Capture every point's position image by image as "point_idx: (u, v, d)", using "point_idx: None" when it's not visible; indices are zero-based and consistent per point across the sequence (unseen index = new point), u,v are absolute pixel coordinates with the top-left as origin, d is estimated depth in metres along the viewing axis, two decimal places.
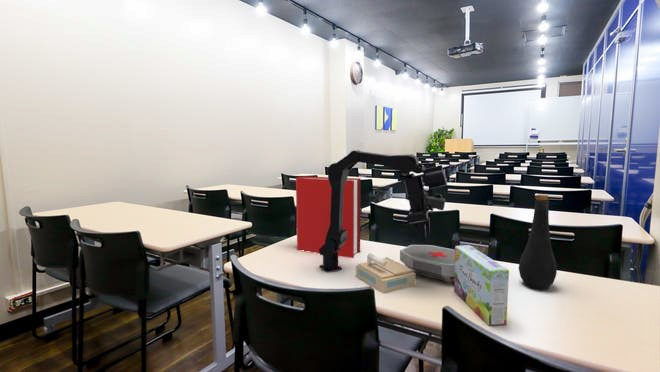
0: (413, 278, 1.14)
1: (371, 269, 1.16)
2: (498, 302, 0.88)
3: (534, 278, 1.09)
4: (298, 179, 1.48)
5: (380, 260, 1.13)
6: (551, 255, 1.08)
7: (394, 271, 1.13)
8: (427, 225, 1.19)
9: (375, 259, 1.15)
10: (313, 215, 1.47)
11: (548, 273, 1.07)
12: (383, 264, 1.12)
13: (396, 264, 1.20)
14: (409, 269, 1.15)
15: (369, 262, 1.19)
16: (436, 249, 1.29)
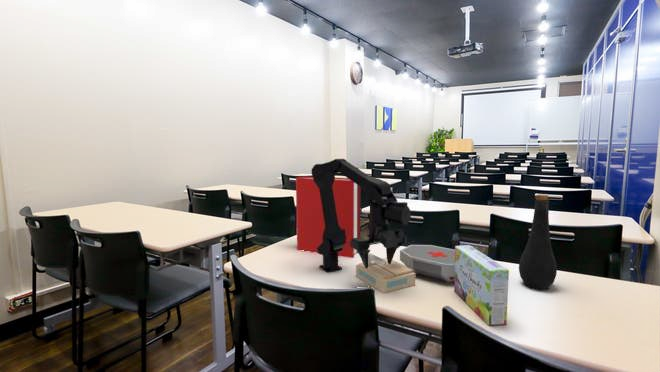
0: (413, 278, 1.14)
1: (371, 269, 1.16)
2: (498, 302, 0.88)
3: (534, 278, 1.09)
4: (298, 179, 1.48)
5: (380, 260, 1.13)
6: (551, 255, 1.08)
7: (394, 271, 1.13)
8: (390, 255, 1.17)
9: (375, 259, 1.15)
10: (313, 215, 1.47)
11: (548, 273, 1.07)
12: (383, 264, 1.12)
13: (396, 264, 1.20)
14: (409, 269, 1.15)
15: (369, 262, 1.19)
16: (436, 249, 1.29)
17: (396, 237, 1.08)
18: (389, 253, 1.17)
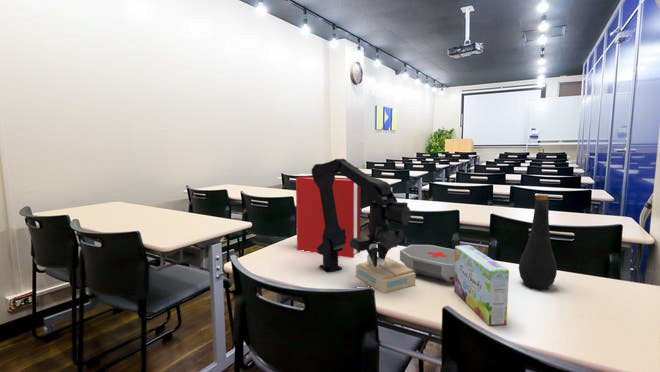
0: (413, 278, 1.14)
1: (371, 269, 1.16)
2: (498, 302, 0.88)
3: (534, 278, 1.09)
4: (298, 179, 1.48)
5: (380, 260, 1.13)
6: (551, 255, 1.08)
7: (394, 271, 1.13)
8: (381, 257, 1.15)
9: None
10: (313, 215, 1.47)
11: (548, 273, 1.07)
12: (383, 264, 1.12)
13: (396, 264, 1.20)
14: (409, 269, 1.15)
15: (369, 262, 1.19)
16: (436, 249, 1.29)
17: (396, 237, 1.08)
18: (381, 255, 1.15)
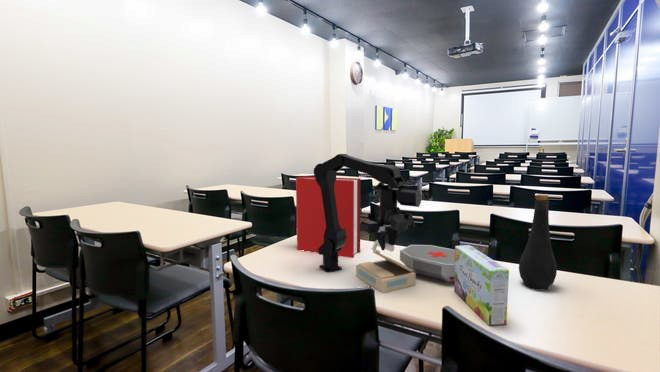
0: (413, 278, 1.14)
1: (371, 269, 1.16)
2: (498, 302, 0.88)
3: (534, 278, 1.09)
4: (298, 179, 1.48)
5: (389, 245, 1.14)
6: (551, 255, 1.08)
7: None
8: (391, 240, 1.16)
9: None
10: (313, 215, 1.47)
11: (548, 273, 1.07)
12: (391, 249, 1.13)
13: None
14: (410, 268, 1.15)
15: (374, 248, 1.20)
16: (436, 249, 1.29)
17: (406, 220, 1.09)
18: (391, 238, 1.17)
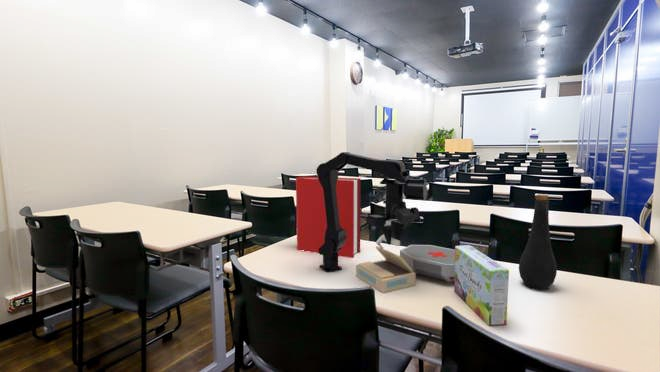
0: (413, 278, 1.14)
1: (371, 269, 1.16)
2: (498, 302, 0.88)
3: (534, 278, 1.09)
4: (298, 179, 1.48)
5: (396, 239, 1.15)
6: (551, 255, 1.08)
7: None
8: (397, 235, 1.17)
9: None
10: (313, 215, 1.47)
11: (548, 273, 1.07)
12: (396, 243, 1.14)
13: None
14: (410, 268, 1.15)
15: (379, 241, 1.20)
16: (436, 249, 1.29)
17: (412, 214, 1.10)
18: (397, 233, 1.18)
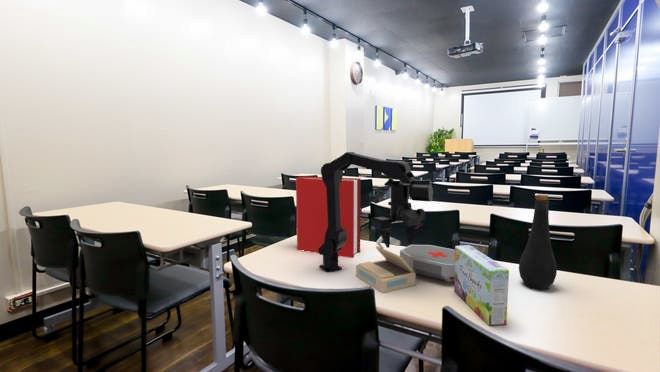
0: (413, 278, 1.14)
1: (371, 269, 1.16)
2: (498, 302, 0.88)
3: (534, 278, 1.09)
4: (298, 179, 1.48)
5: (396, 239, 1.15)
6: (551, 255, 1.08)
7: None
8: (410, 235, 1.17)
9: (390, 238, 1.17)
10: (313, 215, 1.47)
11: (548, 273, 1.07)
12: (397, 243, 1.14)
13: None
14: (410, 268, 1.15)
15: (379, 241, 1.20)
16: (436, 249, 1.29)
17: (418, 215, 1.08)
18: (409, 233, 1.18)
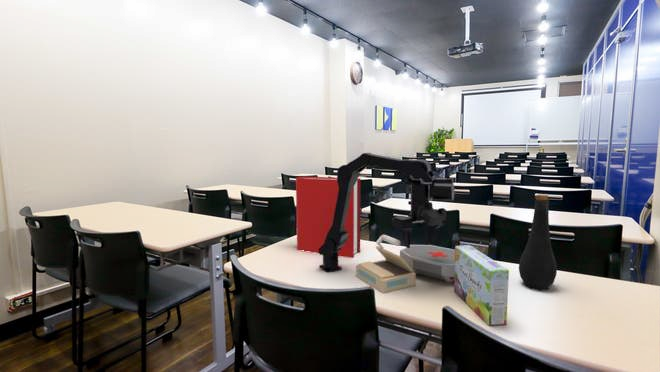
0: (413, 278, 1.14)
1: (371, 269, 1.16)
2: (498, 302, 0.88)
3: (534, 278, 1.09)
4: (298, 179, 1.48)
5: (396, 239, 1.15)
6: (551, 255, 1.08)
7: None
8: (431, 235, 1.15)
9: (390, 238, 1.17)
10: (313, 215, 1.47)
11: (548, 273, 1.07)
12: (397, 243, 1.14)
13: None
14: (410, 268, 1.15)
15: (379, 241, 1.20)
16: (436, 249, 1.29)
17: (440, 215, 1.06)
18: (430, 233, 1.15)
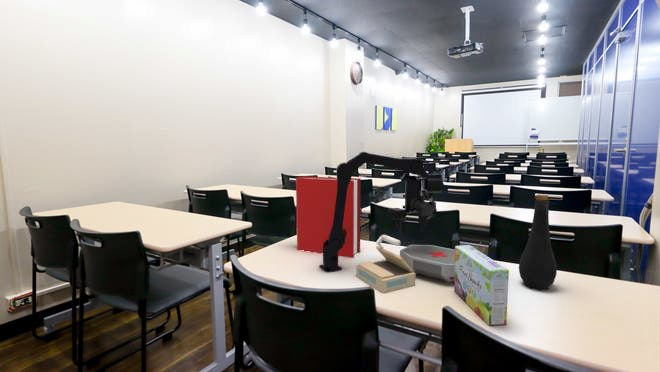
0: (413, 278, 1.14)
1: (371, 269, 1.16)
2: (498, 302, 0.88)
3: (534, 278, 1.09)
4: (298, 179, 1.48)
5: (396, 239, 1.15)
6: (551, 255, 1.08)
7: None
8: (422, 225, 1.30)
9: (390, 238, 1.17)
10: (313, 215, 1.47)
11: (548, 273, 1.07)
12: (397, 243, 1.14)
13: None
14: (410, 268, 1.15)
15: (379, 241, 1.20)
16: (436, 249, 1.29)
17: (430, 206, 1.21)
18: (422, 223, 1.30)
